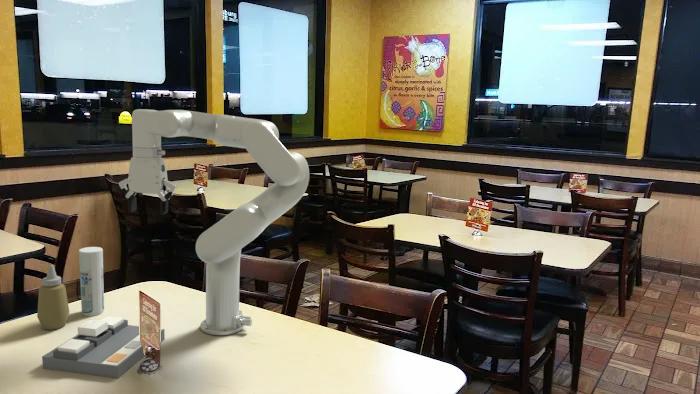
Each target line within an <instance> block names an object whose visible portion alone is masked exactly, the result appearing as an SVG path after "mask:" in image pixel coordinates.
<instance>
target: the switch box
mask: <svg viewBox="0 0 700 394" xmlns="http://www.w3.org/2000/svg"><path fill="white" fill-rule="evenodd" d="M160 329H161V343H162V342H164V341H165V337H166V335H165V329H163V328H160ZM70 339H77V340H86V341H90V345H88V346H87V347H85V348H84V349H82V350H81V351H80V352H78V353H70V352H62V351H58V347H59V346H61V345H62V344H64V343H65V342H67V341H69V340H70ZM70 339H68V340H66V341H65V342H63V343H62V344H60V345H59V346H56V347H55V348H54V349H52V350H50V351H49V352H48V353H47V352H46V354H44V355H42V357H41V358H42V360H41V361H42V369H48V370H54V371H62V372H70V373H77V374H83V375H93V376H99V377H107V378H116V379H119V378H120V377H122V376H123V375H124V374H125V373H126V372H128V371H129V370H130V369H131V368H132V367H134V365H136V364H138V362H140V361H141V360H142V359H143V358H144V357H146V355H144V353H143V346H141V343H140V334H139V325H132V324H131V325H130V324H129V321H128V319H124V322H123V323H121V324H120V325H118V326H117V327H115V328H108V329H107V330H105V331H104V332H102V333H101V334H99V335H98V336H96V337H94V336H86V335H78V334H76V335H75V336H73V337H71V338H70Z"/></svg>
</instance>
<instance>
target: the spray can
mask: <svg viewBox="0 0 700 394" xmlns="http://www.w3.org/2000/svg"><path fill="white" fill-rule="evenodd" d="M78 257H79V258H78V259H79V260H78V261H79V282H80V299H81V300H80V301H81V303H80V305H81V314H82V316H86V317H94V316H99V315H102V314H103V313H105V300H104V299H105V293H104V292H105V291H104V290H105V289H104V249H103V248H102V247H99V246H87V247H82V248H79V250H78Z"/></svg>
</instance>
